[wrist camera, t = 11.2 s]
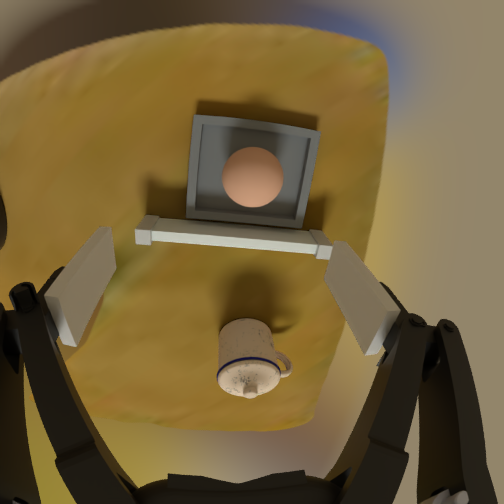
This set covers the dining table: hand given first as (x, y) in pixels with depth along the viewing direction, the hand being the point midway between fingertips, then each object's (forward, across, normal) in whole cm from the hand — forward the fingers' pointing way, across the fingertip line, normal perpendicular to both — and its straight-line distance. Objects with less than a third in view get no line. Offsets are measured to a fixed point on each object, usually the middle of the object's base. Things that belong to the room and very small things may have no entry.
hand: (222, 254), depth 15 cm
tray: (+18, +3, +1) cm, 18 cm away
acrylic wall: (+18, +2, -6) cm, 19 cm away
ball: (+14, +3, +1) cm, 15 cm away
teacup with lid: (+18, +7, -25) cm, 32 cm away
